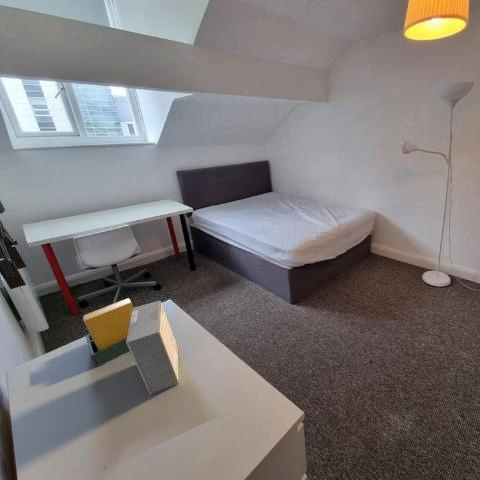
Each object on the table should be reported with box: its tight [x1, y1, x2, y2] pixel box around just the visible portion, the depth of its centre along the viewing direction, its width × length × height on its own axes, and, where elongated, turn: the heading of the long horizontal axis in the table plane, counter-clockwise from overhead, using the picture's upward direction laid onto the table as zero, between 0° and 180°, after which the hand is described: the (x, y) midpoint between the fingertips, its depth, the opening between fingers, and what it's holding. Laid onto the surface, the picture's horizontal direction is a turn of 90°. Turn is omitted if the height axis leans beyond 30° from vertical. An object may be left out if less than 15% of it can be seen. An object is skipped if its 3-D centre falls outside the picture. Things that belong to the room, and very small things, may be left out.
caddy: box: [85, 333, 130, 368], centre depth 92 cm, size 12×16×5 cm
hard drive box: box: [126, 300, 180, 396], centre depth 78 cm, size 16×8×20 cm, turn 27°
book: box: [82, 297, 134, 351], centre depth 88 cm, size 4×12×15 cm, turn 135°
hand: (19, 277), depth 71 cm, fingers open, 13 cm apart
